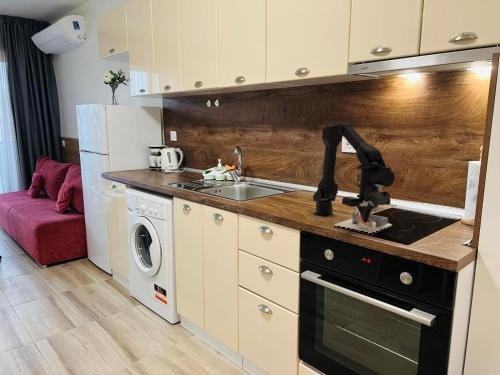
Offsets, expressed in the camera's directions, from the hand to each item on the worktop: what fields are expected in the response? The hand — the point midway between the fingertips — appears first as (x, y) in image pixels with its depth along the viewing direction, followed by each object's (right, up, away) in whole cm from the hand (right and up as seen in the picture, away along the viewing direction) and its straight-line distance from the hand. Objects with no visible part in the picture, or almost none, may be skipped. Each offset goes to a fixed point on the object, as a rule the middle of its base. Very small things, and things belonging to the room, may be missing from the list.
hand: (364, 222), depth 140 cm
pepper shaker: (+5, 0, +20) cm, 21 cm away
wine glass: (+16, +3, +38) cm, 41 cm away
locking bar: (0, -2, +4) cm, 5 cm away
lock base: (+2, -2, +7) cm, 8 cm away
